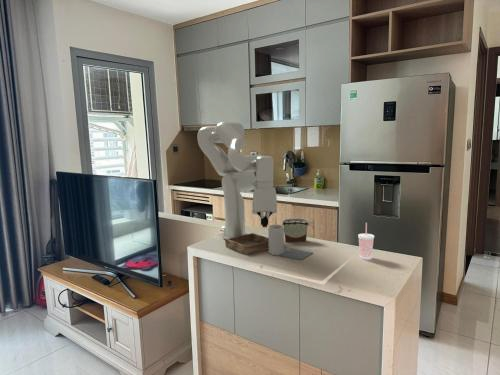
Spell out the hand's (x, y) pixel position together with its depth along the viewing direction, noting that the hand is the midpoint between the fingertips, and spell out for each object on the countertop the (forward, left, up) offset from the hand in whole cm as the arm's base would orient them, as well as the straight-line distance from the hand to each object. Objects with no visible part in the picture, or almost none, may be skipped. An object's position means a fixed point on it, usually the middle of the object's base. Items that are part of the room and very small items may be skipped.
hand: (264, 226), depth 156 cm
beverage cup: (+41, +10, -10) cm, 43 cm away
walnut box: (-6, -3, -10) cm, 12 cm away
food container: (+6, +17, -10) cm, 20 cm away
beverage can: (+8, -4, -10) cm, 13 cm away
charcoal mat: (+16, -1, -10) cm, 19 cm away
